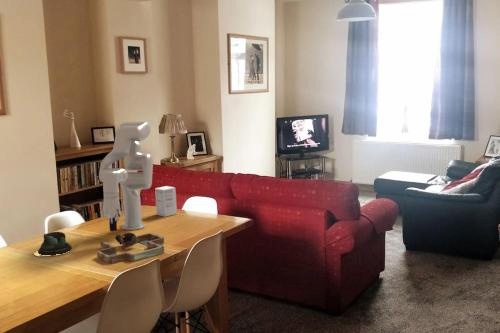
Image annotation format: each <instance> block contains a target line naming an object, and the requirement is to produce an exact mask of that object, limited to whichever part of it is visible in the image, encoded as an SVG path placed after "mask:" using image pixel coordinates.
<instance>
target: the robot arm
mask: <svg viewBox="0 0 500 333" xmlns="http://www.w3.org/2000/svg"><path fill="white" fill-rule="evenodd" d="M150 134H151V124H150V123H149V122H148V121H125V122H122V123H120V124H119V127H118V128H117V130H116V133H115V138H114V143H113V146H112V147H113V148H112V150H111V151H110V152H109V153H107V155H105V157H104V158H103V159H102V160H101V163H100V166H99V171H98V178H99V181H100V182H101V183H102V188H103V190H102V191H103V203H102V206H103V207H102V208H103V209H102V212H103V214H102V215H103V217H105V218H107V220H108V223H109V231H110V232H115V231H117V230H118V227H117V226H118V221H120V218H121V214H122V213H121V204H120V189H119V186H120V187H121V192H122V203H123V204H122V206H123V219H122V222H123V224H122V225H121V229H122V230H125V231H136V230H141V229H143V228H145V223H143V222H142V220H143V219H142V205H141V204H142V202H141V196H140V193H139V191H138V190H149V189H150V188H151V187H152V185H153V184H152V183H153V169H154V160H153V157H152V155H151V154H150V153H146V152H145V153H144V152H143V153H141V149H142V148H141V147H142V146H141V144H140V143H141V142H143V141H144V140H145V139H147V138H148V137H149V135H150ZM122 159H124V160H123V161H124V162H123V163H124V164H123V165H124V168H121V167H120V168H116V167H115V168H111V167H110V166H111V165H112V164H114V163H115V162H117V161H119V160H122ZM127 170H128V171H127ZM129 171H130V172H129ZM132 171H133V172H132ZM134 171H135V172H134ZM136 171H137V172H136ZM119 184H120V185H119Z"/></svg>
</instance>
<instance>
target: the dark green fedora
mask: <svg viewBox="0 0 500 333" xmlns="http://www.w3.org/2000/svg"><path fill="white" fill-rule="evenodd" d="M66 237H67V236H66V234H65V233H64V232H61V231H52V232H47V233H44V234H43V241H42V244H41V245H40V247H39V248H38V249H37V250H38V253H39V254H41V255H56V254H62V255H64V254H63V253H66V252H68V251H70V250H71V249H72V250H73V248H72V245H71V244H70V243H69V242H66ZM72 250H71V251H72ZM71 251H70V252H71ZM68 253H69V252H68ZM66 254H67V253H66Z"/></svg>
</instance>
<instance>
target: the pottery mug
mask: <svg viewBox="0 0 500 333" xmlns="http://www.w3.org/2000/svg"><path fill="white" fill-rule="evenodd" d="M132 236H134V239H132ZM136 236H137V235H136V234H135V233H133V232H130V231H129V232H124V233H122V234H116V235H115V237H114V239H115V241H116V242H117V243H118V244H119V245H120V246H121V249H122V250H126V249H127V248H130V247H133V246H134V245H135V244H137V243H139V242H138V241H137V239H136V238H137V237H136ZM136 242H137V243H136Z"/></svg>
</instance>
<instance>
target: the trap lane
mask: <svg viewBox="0 0 500 333" xmlns="http://www.w3.org/2000/svg"><path fill="white" fill-rule="evenodd" d="M135 236H136V237H137V238H136V239H137V241H138V242H136V243H135V244H137V243H139V244H142V245H144V246H146V247H147V249H146V250H142V251H140V252H135V253H132V252H131V253H130V252H128V251H126V252H123V253H122V252H121V253H119V254H117V246H114V245H112V244H110V243H108V242H105V241H100V248H101V249H99V250H97V251H96V257H97V259H99V260H101V261H102V262H105V263H108V264H110V263H111V264H115V263H119V262H121V261H126V260H128V261H129V262H135V261H136V262H137V261H140V260H143V259H147V258H150V257H153V256H154V257H155V256H157V255H160V254H164V253H165V246H163V245H164V244H165V237H164V236H161V235H158V234H155V233H151V232H148V233H144V234H141V235H135ZM132 239H134V236H132Z"/></svg>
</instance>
